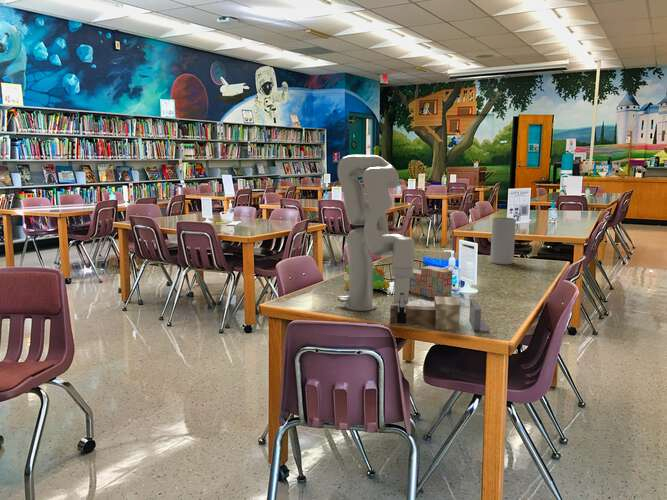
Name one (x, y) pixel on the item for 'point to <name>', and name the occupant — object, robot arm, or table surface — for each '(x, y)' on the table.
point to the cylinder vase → (503, 240)
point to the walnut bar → (415, 315)
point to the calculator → (420, 303)
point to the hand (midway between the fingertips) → (401, 320)
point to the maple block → (447, 313)
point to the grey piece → (476, 317)
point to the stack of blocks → (431, 282)
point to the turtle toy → (374, 278)
